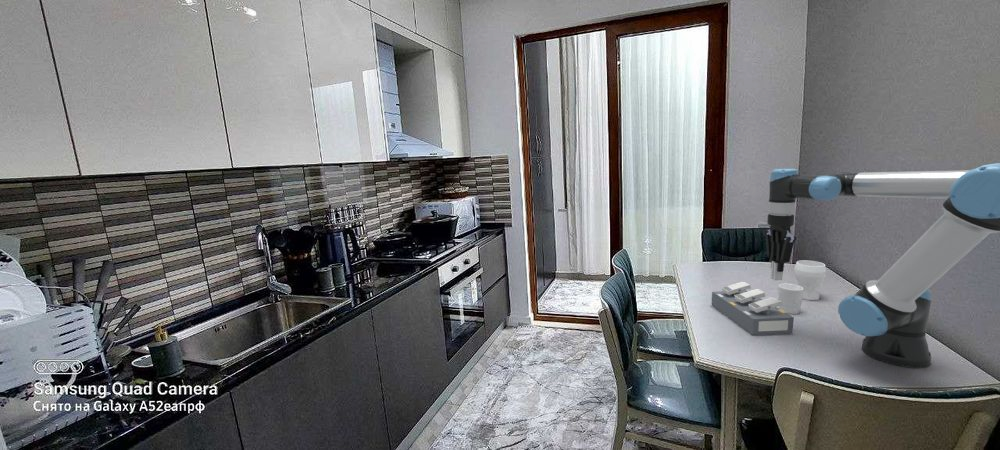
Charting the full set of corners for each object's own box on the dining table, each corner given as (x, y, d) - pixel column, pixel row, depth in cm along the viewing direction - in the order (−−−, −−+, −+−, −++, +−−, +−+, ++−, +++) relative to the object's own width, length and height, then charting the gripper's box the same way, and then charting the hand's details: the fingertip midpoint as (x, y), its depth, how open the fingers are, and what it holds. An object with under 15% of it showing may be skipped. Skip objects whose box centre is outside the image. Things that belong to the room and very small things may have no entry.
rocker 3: (782, 305, 140) (781, 301, 140) (757, 313, 141) (756, 308, 140) (772, 300, 145) (771, 296, 145) (748, 307, 146) (747, 303, 145)
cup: (829, 298, 167) (832, 264, 164) (813, 303, 163) (816, 268, 161) (802, 291, 177) (805, 258, 174) (786, 295, 173) (789, 262, 170)
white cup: (805, 315, 153) (807, 290, 151) (782, 314, 155) (784, 290, 153) (795, 307, 161) (796, 283, 159) (773, 306, 162) (774, 283, 160)
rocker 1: (751, 288, 158) (750, 284, 157) (729, 295, 158) (728, 291, 158) (743, 284, 163) (742, 280, 162) (722, 290, 163) (721, 287, 163)
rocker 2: (766, 296, 149) (765, 292, 149) (742, 303, 149) (741, 299, 149) (757, 292, 154) (756, 287, 154) (734, 298, 155) (733, 294, 154)
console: (792, 333, 139) (794, 312, 138) (752, 335, 139) (753, 314, 138) (745, 303, 167) (746, 286, 165) (711, 305, 167) (712, 287, 166)
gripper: (806, 216, 130) (801, 285, 134) (778, 210, 143) (774, 273, 148) (783, 217, 130) (778, 286, 134) (757, 211, 144) (753, 274, 148)
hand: (776, 279), depth 141 cm, fingers closed
